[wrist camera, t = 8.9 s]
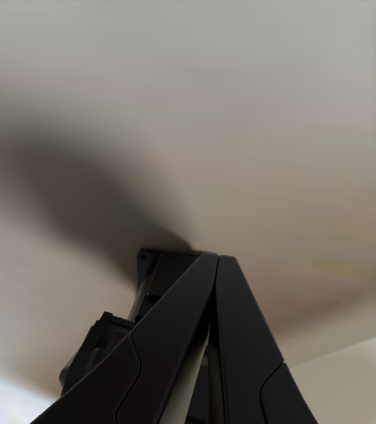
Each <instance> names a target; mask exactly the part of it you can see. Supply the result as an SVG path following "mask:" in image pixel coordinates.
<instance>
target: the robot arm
mask: <svg viewBox="0 0 376 424" xmlns="http://www.w3.org/2000/svg"><path fill="white" fill-rule="evenodd" d="M143 255H146V256H143ZM137 269H138V293H137V296H136V299H135V301H134V304H133V306H132V309H131V311H130V314H129V316H128V319H127V320H126V319H123V318H120V317H117V316H113V314H112V313H109V312H106V311H105V312H104V313H103V315H102V317H101V318H100V320H97V321H96V323H95V324H94V326H91V328H90V330H89V332H88V334H87V336H86V338H85V340H84V342H83V344H82V345H81V347H80V349H79V350H78V351H77V352H76V354H75V355H74V356H73V357H72V358H71V360H70V361H69V362H68V363H67V364H66V365H65V367H64V368H63V369H62V371H61V373H60V376H59V382H60V385H61V388H62V393H61V397H60V398H59V399H58V400H57V401H56V402H54V403H53V404H52V405H51V406H50V407H49V408H48V409H46V410H45V411H44V412H43V413H42V414H41V415H39V416H38V417H37V418H36V419H35V420H34V421H32V422H31V423H30V424H318V422H317V421H316V419H315V417H314V416H313V414H312V412H311V411H310V409H309V407H308V405H307V404H306V402H305V400H304V398H303V396H302V394H301V392H300V391H299V389H298V387H297V385H296V383H295V381H294V379H293V377H292V375H291V373H290V370H289V368H288V366H287V364H286V363H284V358H283V356H282V354H281V352H280V350H279V348H278V345H277V343H276V341H275V339H274V337H273V335H272V333H271V331H270V329H269V327H268V324H267V322H266V320H265V318H264V316H263V314H262V312H261V310H260V308H259V306H258V303H257V301H256V299H255V297H254V295H253V293H252V291H251V289H250V287H249V284H248V282H247V280H246V278H245V276H244V274H243V272H242V270H241V268H240V266H239V263H238V261H237V259H236V258H235V257H233V256H227V255H220V256H218V254H214V253H207V252H204V253H202V254H201V255H200V256H199V257H198V256H191V255H185V254H178V253H171V252H164V251H158V250H151V249H140V250H139V252H138V254H137ZM207 344H208V345H207Z"/></svg>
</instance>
